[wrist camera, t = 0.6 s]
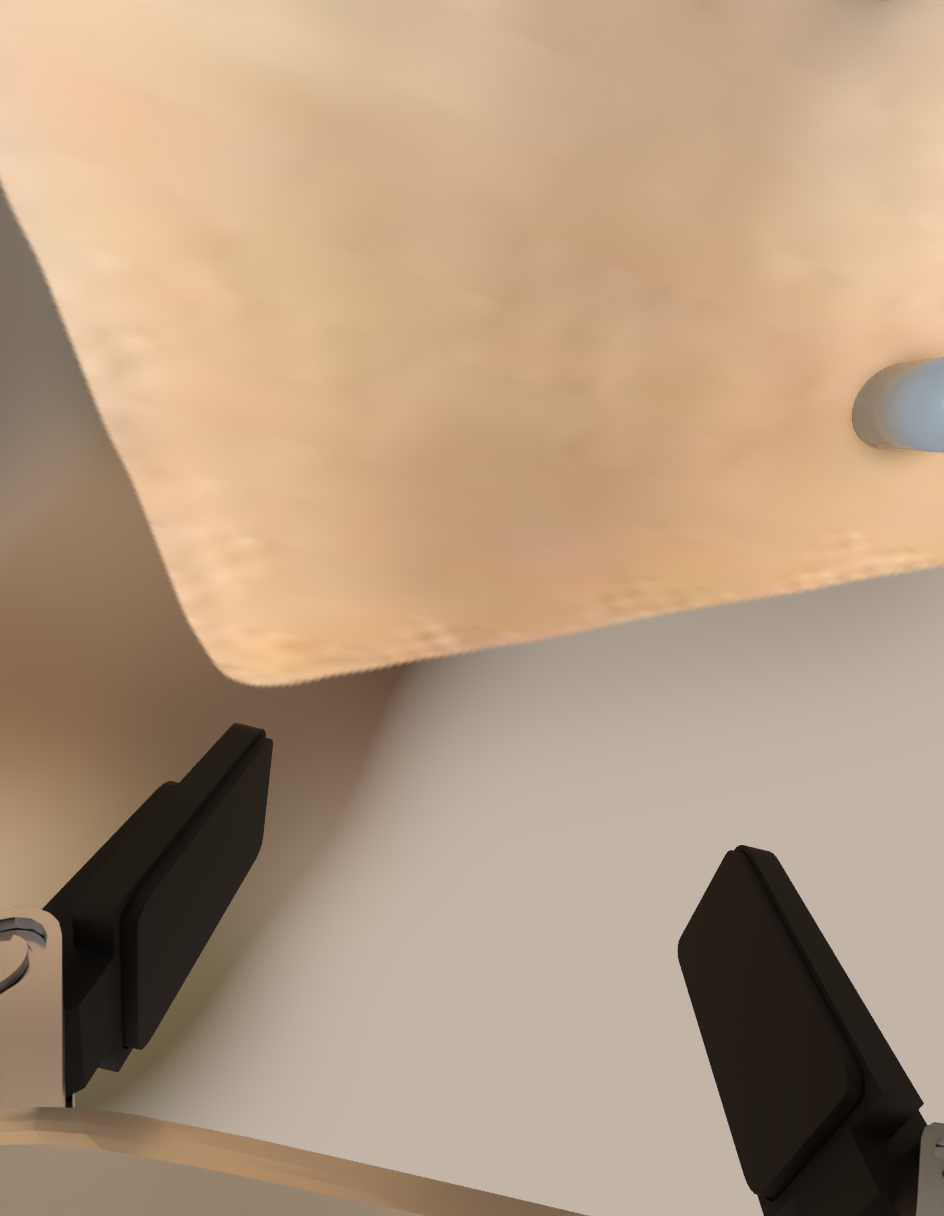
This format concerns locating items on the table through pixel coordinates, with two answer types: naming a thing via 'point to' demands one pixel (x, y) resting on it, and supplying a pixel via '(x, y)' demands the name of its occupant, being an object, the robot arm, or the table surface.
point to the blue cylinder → (903, 407)
